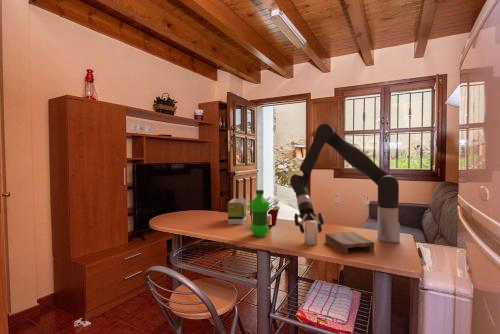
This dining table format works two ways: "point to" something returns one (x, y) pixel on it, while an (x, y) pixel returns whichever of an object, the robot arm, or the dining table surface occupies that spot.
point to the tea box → (237, 211)
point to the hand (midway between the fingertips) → (311, 232)
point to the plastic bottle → (259, 214)
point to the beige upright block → (310, 232)
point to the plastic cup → (274, 214)
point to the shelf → (348, 241)
